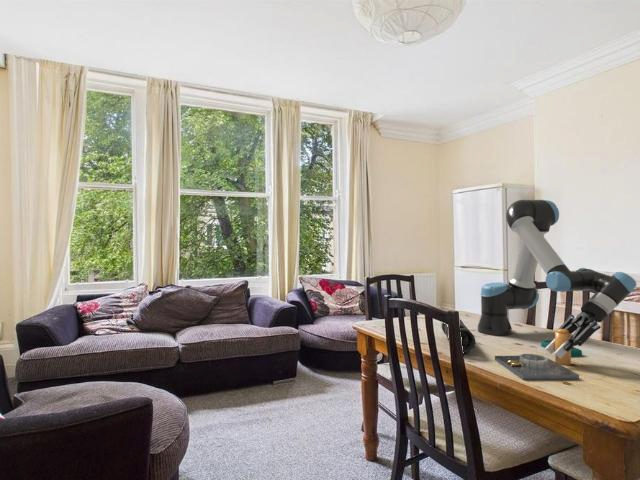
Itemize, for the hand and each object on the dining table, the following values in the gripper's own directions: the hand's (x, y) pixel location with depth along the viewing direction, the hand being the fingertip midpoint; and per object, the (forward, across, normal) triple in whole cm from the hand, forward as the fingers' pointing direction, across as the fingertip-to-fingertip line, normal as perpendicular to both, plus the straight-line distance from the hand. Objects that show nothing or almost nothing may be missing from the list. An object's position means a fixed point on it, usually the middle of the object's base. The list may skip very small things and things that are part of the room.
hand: (552, 353), depth 138 cm
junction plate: (+10, -6, +5) cm, 12 cm away
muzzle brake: (+21, +24, +16) cm, 36 cm away
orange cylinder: (0, 0, -5) cm, 5 cm away
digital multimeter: (-6, +15, -12) cm, 20 cm away
